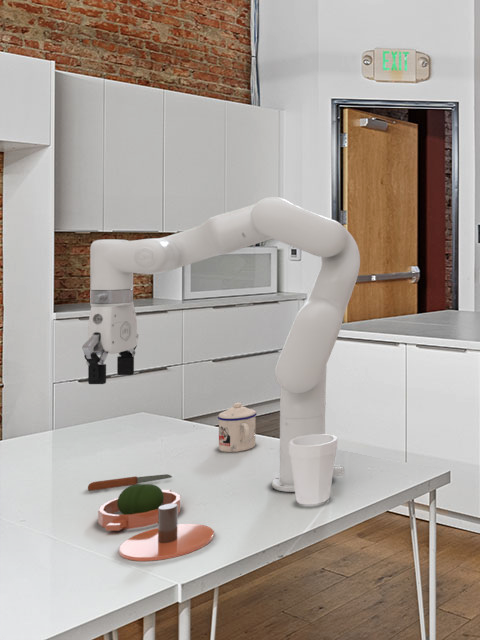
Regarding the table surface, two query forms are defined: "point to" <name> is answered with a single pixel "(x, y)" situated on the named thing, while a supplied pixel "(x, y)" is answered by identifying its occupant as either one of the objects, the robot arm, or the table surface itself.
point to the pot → (132, 520)
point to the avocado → (140, 499)
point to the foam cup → (313, 467)
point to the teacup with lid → (236, 429)
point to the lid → (166, 538)
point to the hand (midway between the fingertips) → (111, 379)
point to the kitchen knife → (124, 481)
